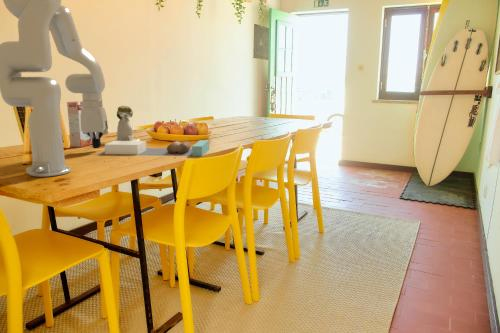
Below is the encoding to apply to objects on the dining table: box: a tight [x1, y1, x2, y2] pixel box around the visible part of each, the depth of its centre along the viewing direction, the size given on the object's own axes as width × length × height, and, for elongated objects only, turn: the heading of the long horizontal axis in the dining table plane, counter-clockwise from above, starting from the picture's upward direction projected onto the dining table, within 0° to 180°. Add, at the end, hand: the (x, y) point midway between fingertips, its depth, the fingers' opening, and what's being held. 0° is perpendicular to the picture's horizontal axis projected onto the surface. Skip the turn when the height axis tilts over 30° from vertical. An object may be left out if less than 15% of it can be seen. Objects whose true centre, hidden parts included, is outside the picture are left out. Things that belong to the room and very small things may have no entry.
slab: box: [104, 140, 147, 156], centre depth 164 cm, size 10×14×4 cm
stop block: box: [191, 139, 210, 157], centre depth 164 cm, size 16×4×4 cm, turn 175°
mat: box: [98, 147, 193, 157], centre depth 166 cm, size 16×44×1 cm, turn 85°
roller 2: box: [176, 140, 192, 154], centre depth 164 cm, size 9×4×4 cm
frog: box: [113, 105, 142, 141], centre depth 189 cm, size 12×13×18 cm
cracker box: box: [66, 100, 96, 148], centre depth 183 cm, size 14×6×21 cm, turn 168°
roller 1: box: [166, 140, 182, 154], centre depth 165 cm, size 9×4×4 cm
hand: (96, 147), depth 166 cm, fingers closed
